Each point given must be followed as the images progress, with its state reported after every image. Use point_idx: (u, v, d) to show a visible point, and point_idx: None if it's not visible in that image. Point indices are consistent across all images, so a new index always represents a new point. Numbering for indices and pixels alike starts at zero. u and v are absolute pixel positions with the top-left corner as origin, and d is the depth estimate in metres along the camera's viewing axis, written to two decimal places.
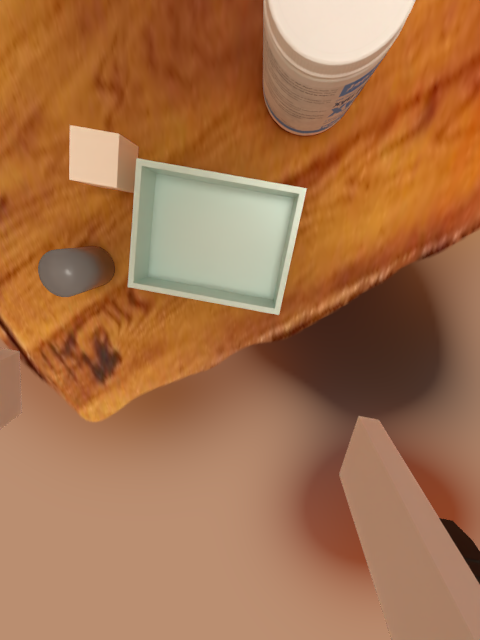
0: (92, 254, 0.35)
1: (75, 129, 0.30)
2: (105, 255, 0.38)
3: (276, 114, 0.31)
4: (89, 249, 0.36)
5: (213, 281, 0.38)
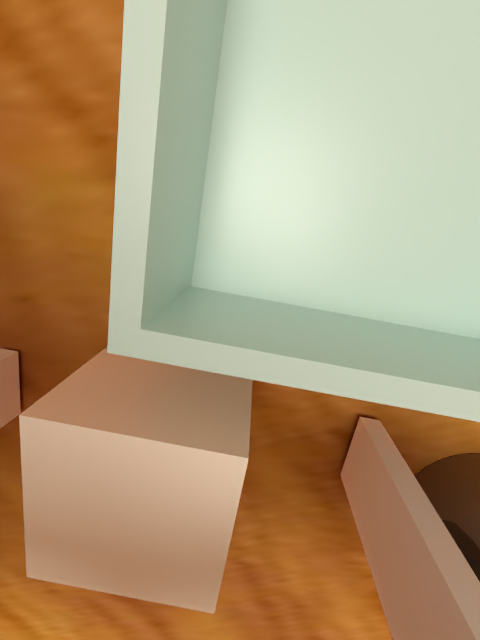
0: None
1: (37, 563, 0.08)
2: (452, 484, 0.11)
3: None
4: None
5: None
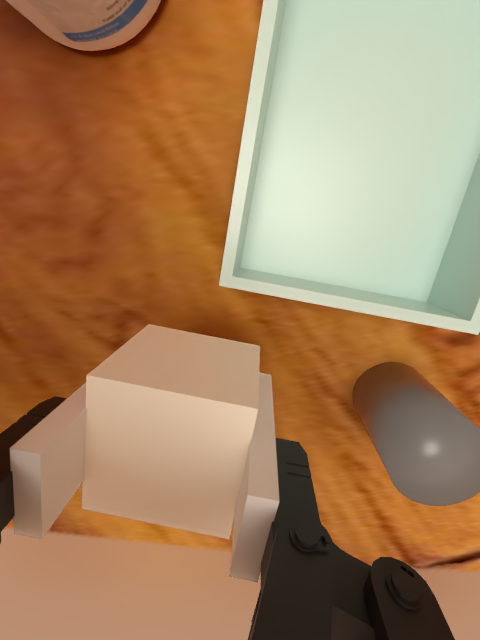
0: (385, 396, 0.18)
1: (91, 497, 0.10)
2: (376, 374, 0.20)
3: None
4: (369, 399, 0.19)
5: (459, 155, 0.17)
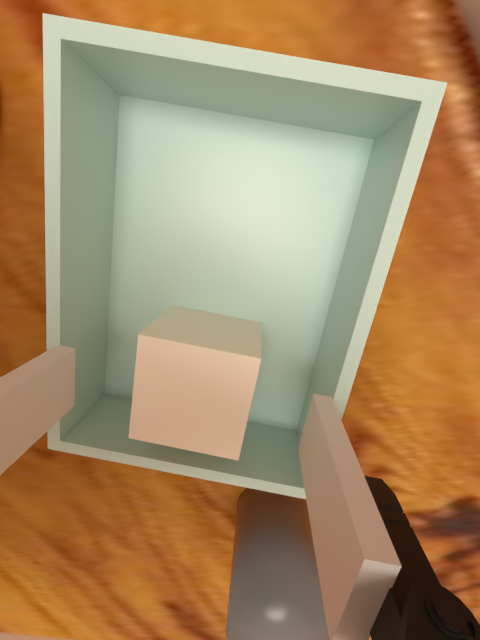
0: (245, 537, 0.18)
1: (136, 428, 0.14)
2: (251, 498, 0.20)
3: None
4: (237, 532, 0.19)
5: (312, 296, 0.16)
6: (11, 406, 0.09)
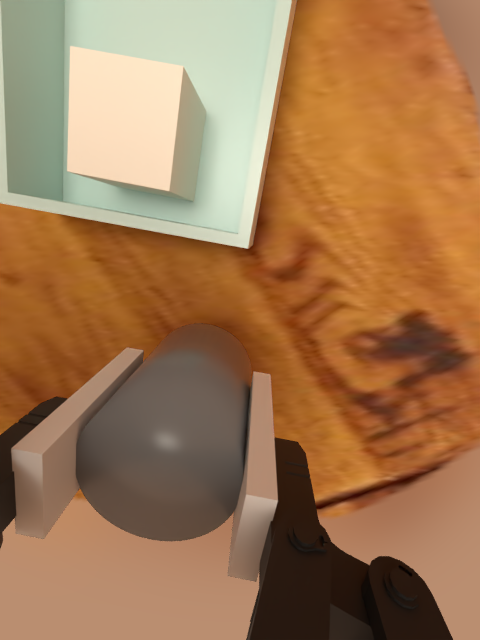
0: (138, 367, 0.12)
1: (73, 159, 0.14)
2: (164, 339, 0.14)
3: None
4: None
5: (253, 78, 0.17)
6: (105, 403, 0.10)
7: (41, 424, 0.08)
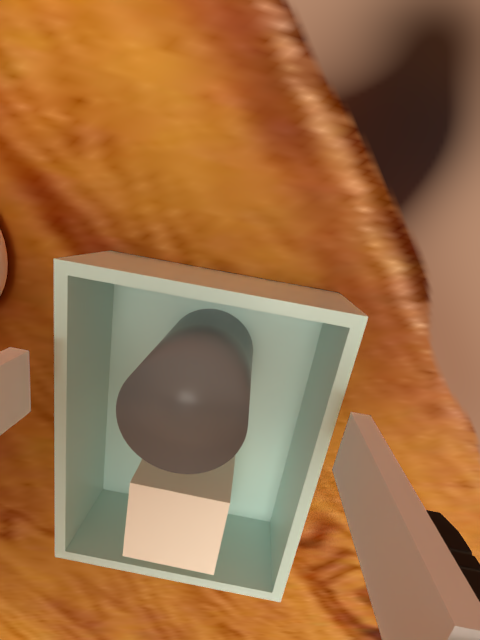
0: (160, 341, 0.14)
1: (128, 549, 0.16)
2: (179, 321, 0.17)
3: None
4: None
5: (280, 418, 0.19)
6: None
7: None
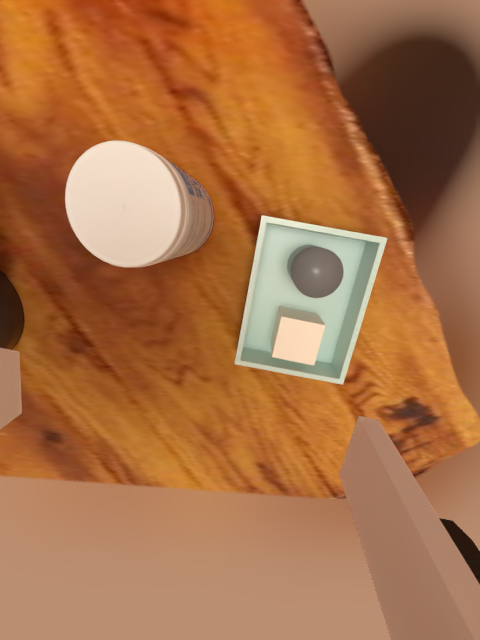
0: (297, 252, 0.34)
1: (275, 353, 0.36)
2: (297, 249, 0.36)
3: (199, 244, 0.35)
4: (291, 259, 0.35)
5: (340, 302, 0.38)
6: None
7: None
